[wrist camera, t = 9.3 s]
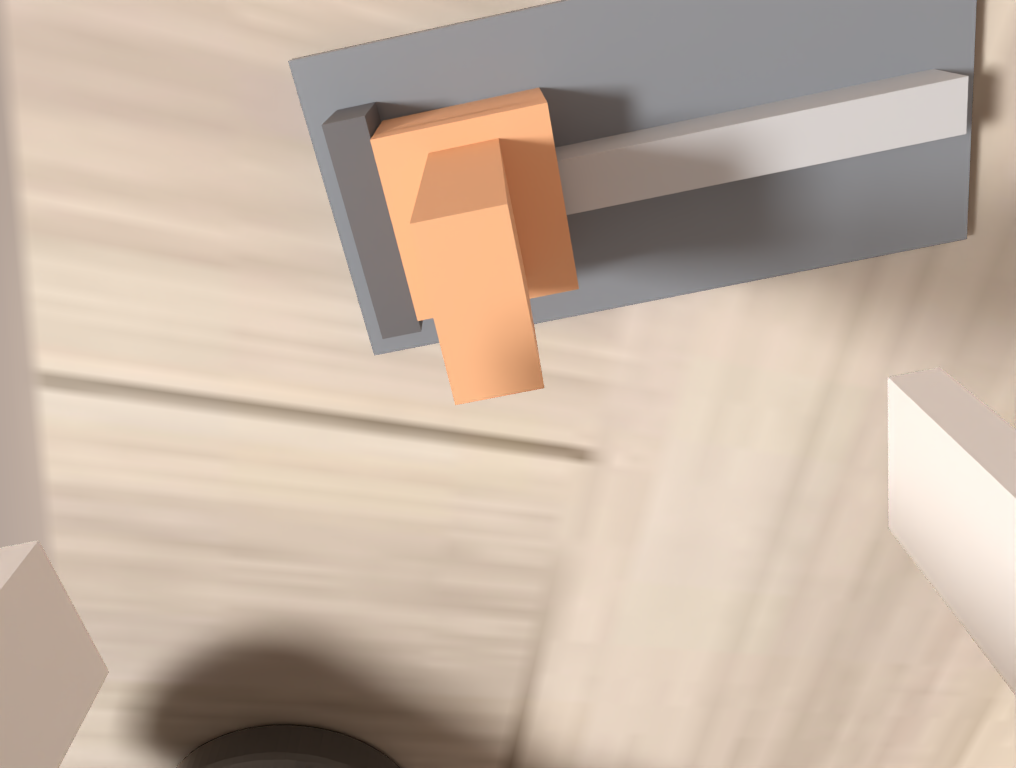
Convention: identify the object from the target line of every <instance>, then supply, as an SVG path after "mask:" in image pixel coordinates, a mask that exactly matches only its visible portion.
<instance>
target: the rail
mask: <svg viewBox="0 0 1016 768" xmlns="http://www.w3.org/2000/svg"><path fill="white" fill-rule="evenodd" d="M976 4H977V0H562V1H557V2H552V3H548V4H543V5H539V6H534V7H529V8H525V9H520V10H516V11H511V12H506V13H502V14H497V15H493V16H488V17H483V18H479V19H474V20H470V21H465V22H460V23H456V24H451V25H447V26H442V27H437V28H433V29H428V30H424V31H419V32H414V33H410V34H405V35H401V36H396V37H391V38H387V39H382V40H378V41H373V42H368V43H364V44H359V45H355V46H350V47H345V48H341V49H336V50H332V51H327V52H322V53H318V54H313V55H309V56H304V57H299V58H295V59H292V60H290V61H288V62H289V66H290V69H291V72H292V76H293V79H294V83H295V86H296V90H297V93H298V96H299V100H300V103H301V107H302V110H303V113H304V117H305V120H306V124H307V127H308V131H309V134H310V137H311V141H312V144H313V148H314V151H315V154H316V158H317V161H318V165H319V168H320V172H321V175H322V178H323V182H324V185H325V189H326V192H327V195H328V199H329V202H330V206H331V209H332V213H333V216H334V219H335V223H336V226H337V230H338V233H339V236H340V240H341V243H342V247H343V250H344V253H345V257H346V260H347V264H348V267H349V271H350V274H351V277H352V281H353V284H354V288H355V291H356V294H357V298H358V301H359V305H360V308H361V312H362V315H363V318H364V322H365V325H366V329H367V332H368V335H369V339H370V342H371V346H372V349H373V353H374V355H379V354H384V353H389V352H394V351H399V350H404V349H410V348H415V347H420V346H425V345H430V344H435V343H440V342H439V338H438V334H437V330H436V327H435V323H434V319H433V318H430V319H425V320H420V321H418V320H417V317H416V313H415V309H414V305H413V301H412V298H411V294H410V290H409V286H408V282H407V278H406V275H405V271H404V267H403V263H402V259H401V256H400V252H399V248H398V244H397V240H396V237H395V233H394V229H393V225H392V221H391V218H390V214H389V210H388V206H387V202H386V199H385V195H384V191H383V187H382V183H381V180H380V176H379V172H378V168H377V164H376V161H375V157H374V153H373V149H372V145H371V142H370V139H371V138H372V136H373V135H374V133H375V131H376V130H377V128H378V127H379V125H380V124H381V122H382V121H383V120H388V119H393V118H398V117H402V116H407V115H412V114H416V113H421V112H426V111H431V110H435V109H440V108H445V107H449V106H454V105H459V104H464V103H468V102H473V101H478V100H482V99H487V98H492V97H497V96H501V95H506V94H511V93H515V92H520V91H525V90H530V89H534V88H540V90H541V92H542V94H543V95H544V97H545V99H546V101H547V103H548V109H549V115H550V121H551V127H552V133H553V139H554V144H555V150H556V156H557V162H558V168H559V174H560V180H561V186H562V191H563V197H564V203H565V209H566V215H567V221H568V227H569V233H570V238H571V244H572V250H573V256H574V262H575V268H576V274H577V280H578V286H579V289H577V290H572V291H567V292H562V293H556V294H551V295H546V296H541V297H536V298H531V299H530V304H531V310H532V316H533V322H534V324H537V323H542V322H547V321H552V320H557V319H562V318H567V317H572V316H577V315H582V314H588V313H593V312H598V311H603V310H608V309H613V308H618V307H623V306H628V305H633V304H638V303H644V302H649V301H654V300H659V299H664V298H669V297H674V296H679V295H684V294H689V293H694V292H699V291H705V290H710V289H715V288H720V287H725V286H730V285H735V284H740V283H745V282H750V281H755V280H761V279H766V278H771V277H776V276H781V275H786V274H791V273H796V272H801V271H806V270H811V269H816V268H822V267H827V266H832V265H837V264H842V263H847V262H852V261H857V260H862V259H867V258H872V257H878V256H883V255H888V254H893V253H898V252H903V251H908V250H913V249H918V248H923V247H928V246H934V245H939V244H944V243H949V242H954V241H959V240H964V239H967V223H968V198H969V174H970V150H971V125H972V101H973V77H974V52H975V28H976Z"/></svg>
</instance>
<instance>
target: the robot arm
mask: <svg viewBox="0 0 1016 768" xmlns="http://www.w3.org/2000/svg"><path fill="white" fill-rule="evenodd" d="M888 529H889V530H890V531H891V533H892V534H893V535H894V537H895V538H896V539H897V540H898V542H899V543H900V544H901V546H902V547H903V548H904V550H905V551H906V552H907V554H908V555H909V556H910V558H911V559H912V560H913V561H914V563H915V564H916V565H917V567H918V568H919V569H920V571H921V572H922V573H923V575H924V576H925V577H926V578H927V580H928V581H929V582H930V584H931V585H932V586H933V588H934V589H935V590H936V592H937V593H938V594H939V596H940V597H941V598H942V599H943V601H944V602H945V603H946V605H947V606H948V607H949V609H950V610H951V611H952V613H953V614H954V615H955V617H956V618H957V619H958V620H959V622H960V623H961V624H962V626H963V627H964V628H965V630H966V631H967V632H968V634H969V635H970V636H971V638H972V639H973V640H974V641H975V643H976V644H977V645H978V647H979V648H980V649H981V651H982V652H983V653H984V655H985V656H986V657H987V658H988V660H989V661H990V662H991V664H992V665H993V666H994V668H995V669H996V670H997V672H998V673H999V674H1000V676H1001V677H1002V678H1003V679H1004V681H1005V682H1006V683H1007V685H1008V686H1009V687H1010V689H1011V690H1012V691H1013V693H1014V694H1015V695H1016V429H1015V428H1014V427H1013V426H1011V425H1010V424H1009V423H1008V422H1006V421H1005V420H1004V419H1003V418H1002V417H1000V416H999V415H998V414H997V413H995V412H994V411H993V410H992V409H991V408H989V407H988V406H987V405H986V404H985V403H983V402H982V401H981V400H980V399H978V398H977V397H976V396H975V395H974V394H972V393H971V392H970V391H969V390H968V389H966V388H965V387H964V386H963V385H961V384H960V383H959V382H958V381H957V380H955V379H954V378H953V377H952V376H950V375H949V374H948V373H947V372H946V371H944V370H943V369H942V368H941V367H937V368H932V369H927V370H922V371H916V372H911V373H906V374H901V375H896V376H890V377H888ZM108 673H109V671H108V669H107V667H106V665H105V663H104V662H103V660H102V658H101V656H100V654H99V652H98V650H97V648H96V647H95V645H94V643H93V641H92V639H91V637H90V635H89V633H88V632H87V630H86V628H85V626H84V624H83V622H82V620H81V618H80V617H79V615H78V613H77V611H76V609H75V607H74V605H73V604H72V602H71V600H70V598H69V596H68V594H67V592H66V590H65V589H64V587H63V585H62V583H61V581H60V579H59V577H58V575H57V574H56V572H55V570H54V568H53V566H52V564H51V562H50V560H49V559H48V557H47V555H46V553H45V551H44V549H43V547H42V545H41V544H40V542H39V540H37V541H32V542H27V543H22V544H17V545H11V546H7V547H1V548H0V768H59V766H60V764H61V762H62V760H63V758H64V757H65V755H66V753H67V751H68V749H69V747H70V745H71V743H72V741H73V739H74V737H75V736H76V734H77V732H78V730H79V728H80V726H81V724H82V722H83V720H84V718H85V717H86V715H87V713H88V711H89V709H90V707H91V705H92V703H93V701H94V699H95V697H96V696H97V694H98V692H99V690H100V688H101V686H102V684H103V682H104V680H105V678H106V676H107V675H108ZM176 768H399V767H398V766H397V765H396V764H395V763H394V762H393V761H392V760H390V759H389V758H388V757H386V756H385V755H384V754H382V753H381V752H379V751H378V750H376V749H374V748H373V747H371V746H369V745H367V744H365V743H363V742H361V741H358V740H356V739H354V738H351V737H348V736H346V735H343V734H339V733H336V732H332V731H328V730H324V729H319V728H313V727H305V726H293V725H276V726H262V727H255V728H249V729H244V730H240V731H236V732H232V733H229V734H226V735H223V736H221V737H219V738H216V739H214V740H212V741H210V742H208V743H206V744H204V745H202V746H201V747H199V748H197V749H196V750H195V751H193V752H192V753H190V754H189V755H188V756H187V757H186V758H185V759H184V760H183V761H181V762H180V764H179V765H178V766H177V767H176Z"/></svg>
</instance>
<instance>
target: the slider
mask: <svg viewBox="0 0 1016 768" xmlns="http://www.w3.org/2000/svg"><path fill="white" fill-rule="evenodd" d="M370 142H371V145H372V149H373V153H374V157H375V161H376V164H377V168H378V172H379V176H380V180H381V183H382V187H383V191H384V195H385V199H386V202H387V206H388V210H389V214H390V218H391V221H392V225H393V229H394V233H395V237H396V240H397V244H398V248H399V252H400V256H401V259H402V263H403V267H404V271H405V275H406V278H407V282H408V286H409V290H410V294H411V298H412V301H413V305H414V309H415V313H416V317H417V320H418V321H420V320H425V319H430V318H433V319H434V323H435V327H436V330H437V334H438V338H439V342H440V346H441V350H442V354H443V358H444V362H445V366H446V370H447V374H448V378H449V382H450V386H451V390H452V394H453V397H454V401H455V405H458V404H464V403H469V402H474V401H479V400H484V399H490V398H495V397H500V396H505V395H510V394H516V393H521V392H526V391H531V390H536V389H542V388H544V384H543V377H542V371H541V365H540V359H539V353H538V347H537V341H536V335H535V329H534V322H533V316H532V310H531V304H530V299H531V298H536V297H541V296H546V295H551V294H556V293H562V292H567V291H572V290H577V289H579V286H578V280H577V274H576V268H575V262H574V256H573V250H572V244H571V238H570V233H569V227H568V221H567V215H566V209H565V203H564V197H563V191H562V186H561V180H560V174H559V168H558V162H557V156H556V150H555V144H554V139H553V133H552V127H551V121H550V115H549V109H548V103H547V101H546V99H545V97H544V95H543V94H542V92H541V90H540V88H534V89H530V90H525V91H520V92H515V93H511V94H506V95H501V96H497V97H492V98H487V99H482V100H478V101H473V102H468V103H464V104H459V105H454V106H449V107H445V108H440V109H435V110H431V111H426V112H421V113H416V114H412V115H407V116H402V117H398V118H393V119H388V120H383V121H382V122H381V124H380V125H379V127H378V128H377V130H376V131H375V133H374V135H373V136H372V138H371V139H370Z"/></svg>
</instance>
